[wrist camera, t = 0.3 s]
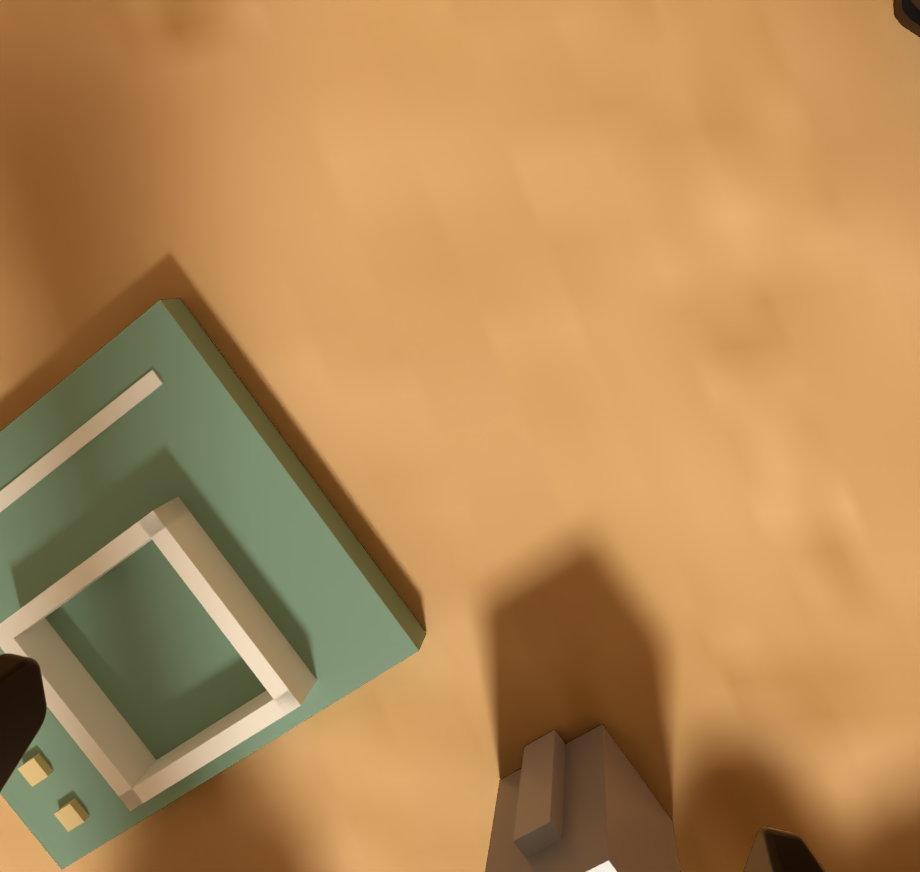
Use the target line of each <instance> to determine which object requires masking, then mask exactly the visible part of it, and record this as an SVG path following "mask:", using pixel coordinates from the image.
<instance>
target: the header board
mask: <svg viewBox="0 0 920 872" xmlns="http://www.w3.org/2000/svg"><path fill="white" fill-rule="evenodd" d="M425 635H426V632H425V631H424V629H423V628H422V627H421V625H420V624H419V623H418V621H417V620H416V618H415V617H414V616H413V614H412V613H411V612H410V610H409V609H408V608H407V606H406V605H405V603H404V602H403V601H402V599H401V598H400V597H399V595H398V594H397V593H396V591H395V590H394V589H393V587H392V586H391V584H390V583H389V582H388V580H387V579H386V578H385V576H384V575H383V574H382V572H381V571H380V570H379V568H378V567H377V565H376V564H375V563H374V561H373V560H372V559H371V557H370V556H369V555H368V553H367V552H366V550H365V549H364V548H363V546H362V545H361V544H360V542H359V541H358V540H357V538H356V537H355V536H354V534H353V533H352V531H351V530H350V529H349V527H348V526H347V525H346V523H345V522H344V521H343V519H342V518H341V516H340V515H339V514H338V512H337V511H336V510H335V508H334V507H333V506H332V504H331V503H330V502H329V500H328V499H327V497H326V496H325V495H324V493H323V492H322V491H321V489H320V488H319V487H318V485H317V484H316V483H315V481H314V480H313V478H312V477H311V476H310V474H309V473H308V472H307V470H306V469H305V468H304V466H303V465H302V463H301V462H300V461H299V459H298V458H297V457H296V455H295V454H294V453H293V451H292V450H291V449H290V447H289V446H288V444H287V443H286V442H285V440H284V439H283V438H282V436H281V435H280V434H279V432H278V431H277V430H276V428H275V427H274V425H273V424H272V423H271V421H270V420H269V419H268V417H267V416H266V415H265V413H264V412H263V410H262V409H261V408H260V406H259V405H258V404H257V402H256V401H255V400H254V398H253V397H252V396H251V394H250V393H249V391H248V390H247V389H246V387H245V386H244V385H243V383H242V382H241V381H240V379H239V378H238V377H237V375H236V374H235V372H234V371H233V370H232V368H231V367H230V366H229V364H228V363H227V362H226V360H225V359H224V357H223V356H222V355H221V353H220V352H219V351H218V349H217V348H216V347H215V345H214V344H213V343H212V341H211V340H210V338H209V337H208V336H207V334H206V333H205V332H204V330H203V329H202V328H201V326H200V325H199V324H198V322H197V321H196V319H195V318H194V317H193V315H192V314H191V313H190V311H189V310H188V309H187V307H186V306H185V304H184V303H183V302H182V300H181V299H180V298H178V299H165V300H159V301H158V302H157V303H156V304H154V305H153V306H152V307H151V308H149V309H148V310H147V311H146V312H145V313H143V314H142V315H141V316H140V317H139V318H137V319H136V320H135V321H134V322H133V323H131V324H130V325H129V326H128V327H126V328H125V329H124V330H123V331H122V332H120V333H119V334H118V335H117V336H116V337H114V338H113V339H112V340H111V341H110V342H108V343H107V344H106V345H105V346H104V347H102V348H101V349H100V350H99V351H97V352H96V353H95V354H94V355H93V356H91V357H90V358H89V359H88V360H87V361H85V362H84V363H83V364H82V365H81V366H79V367H78V368H77V369H76V370H74V371H73V372H72V373H71V374H70V375H68V376H67V377H66V378H65V379H64V380H62V381H61V382H60V383H59V384H58V385H56V386H55V387H54V388H53V389H51V390H50V391H49V392H48V393H47V394H45V395H44V396H43V397H42V398H41V399H39V400H38V401H37V402H36V403H35V404H33V405H32V406H31V407H30V408H28V409H27V410H26V411H25V412H24V413H22V414H21V415H20V416H19V417H18V418H16V419H15V420H14V421H13V422H12V423H10V424H9V425H8V426H7V427H6V428H4V429H3V430H2V431H1V432H0V655H1V654H6V653H11V654H16V655H20V656H24V657H29V658H33V659H35V660H36V661H37V662H38V664H39V665H40V669H41V675H42V680H43V686H44V692H45V698H46V703H47V711H46V716H45V720H44V722H43V724H42V726H41V728H40V730H39V731H38V733H37V735H36V736H35V738H34V739H33V741H32V743H31V744H30V746H29V747H28V749H27V751H26V752H25V754H24V755H23V757H22V759H21V760H20V762H19V763H18V765H17V767H16V768H15V770H14V771H13V773H12V775H11V776H10V778H9V779H8V781H7V783H6V784H5V786H4V787H3V789H2V791H1V792H0V794H1V795H2V796H3V797H4V799H5V800H6V801H7V802H8V804H9V805H10V806H11V807H12V809H13V810H14V811H15V812H16V814H17V815H18V816H19V817H20V819H21V820H22V821H23V822H24V824H25V825H26V826H27V827H28V828H29V830H30V831H31V832H32V833H33V835H34V836H35V837H36V838H37V840H38V841H39V842H40V843H41V845H42V846H43V847H44V848H45V850H46V851H47V852H48V853H49V854H50V856H51V857H52V858H53V859H54V861H55V862H56V863H57V864H58V866H59V867H60V868H61V869H64V868H65V867H67V866H68V865H70V864H72V863H73V862H75V861H77V860H78V859H80V858H82V857H83V856H85V855H86V854H88V853H90V852H91V851H93V850H95V849H96V848H98V847H99V846H101V845H103V844H104V843H106V842H108V841H109V840H111V839H112V838H114V837H116V836H117V835H119V834H121V833H122V832H124V831H126V830H127V829H129V828H130V827H132V826H134V825H135V824H137V823H139V822H140V821H142V820H143V819H145V818H147V817H148V816H150V815H152V814H153V813H155V812H157V811H158V810H160V809H161V808H163V807H165V806H166V805H168V804H170V803H171V802H173V801H174V800H176V799H178V798H179V797H181V796H183V795H184V794H186V793H188V792H189V791H191V790H192V789H194V788H196V787H197V786H199V785H201V784H202V783H204V782H205V781H207V780H209V779H210V778H212V777H214V776H215V775H217V774H219V773H220V772H222V771H223V770H225V769H227V768H228V767H230V766H232V765H233V764H235V763H236V762H238V761H240V760H241V759H243V758H245V757H246V756H248V755H250V754H251V753H253V752H254V751H256V750H258V749H259V748H261V747H263V746H264V745H266V744H267V743H269V742H271V741H272V740H274V739H276V738H277V737H279V736H281V735H282V734H284V733H285V732H287V731H289V730H290V729H292V728H294V727H295V726H297V725H298V724H300V723H302V722H303V721H305V720H307V719H308V718H310V717H312V716H313V715H315V714H316V713H318V712H320V711H321V710H323V709H325V708H326V707H328V706H329V705H331V704H333V703H334V702H336V701H338V700H339V699H341V698H343V697H344V696H346V695H347V694H349V693H351V692H352V691H354V690H356V689H357V688H359V687H360V686H362V685H364V684H365V683H367V682H369V681H370V680H372V679H374V678H375V677H377V676H378V675H380V674H382V673H383V672H385V671H387V670H388V669H390V668H391V667H393V666H395V665H396V664H398V663H400V662H401V661H403V660H405V659H406V658H408V657H409V656H411V655H413V654H414V653H416V652H418V651H419V649H420V647H421V645H422V642H423V640H424V638H425Z"/></svg>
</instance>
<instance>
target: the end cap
mask: <svg viewBox="0 0 920 872" xmlns="http://www.w3.org/2000/svg"><path fill="white" fill-rule="evenodd" d="M894 14H895V17H896V19H897V20H898V21H899V22H900V24H901V25H902V26H903V27H905V28H906V29H908V30H910V31H911V32H913V33H914V34H916V35H917V36H919V37H920V0H895V2H894Z"/></svg>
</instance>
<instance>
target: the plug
mask: <svg viewBox="0 0 920 872" xmlns="http://www.w3.org/2000/svg"><path fill="white" fill-rule="evenodd" d="M485 872H681V870H680V863H679V857H678V851H677V845H676V839H675V833H674V827H673V821H672V820H671V818H670V817H669V816H668V814H667V813H666V811H665V810H664V809H663V807H662V806H661V804H660V803H659V802H658V800H657V799H656V798H655V796H654V795H653V793H652V792H651V791H650V789H649V788H648V787H647V785H646V784H645V782H644V781H643V780H642V778H641V777H640V775H639V774H638V773H637V771H636V770H635V769H634V767H633V766H632V764H631V763H630V762H629V760H628V759H627V757H626V756H625V755H624V753H623V752H622V751H621V749H620V748H619V746H618V745H617V744H616V742H615V741H614V740H613V738H612V737H611V735H610V734H609V733H608V731H607V730H606V728H605V727H604V726H603V724H602V725H600V726H598V727H596V728H594V729H592V730H591V731H589V732H587V733H585V734H583V735H581V736H580V737H578V738H576V739H574V740H572V741H570V742H569V743H567V744H565V743H564V741H563V740H562V739H561V737H560V736H559V735H558V733H557V732H556V730H553V731H552V732H550V733H548V734H546V735H544V736H543V737H541V738H539V739H537V740H535V741H533V742H532V743H530V744H528V745H526V746H524V753H523V761H522V768H521V769H519V770H517V771H516V772H514V773H512V774H510V775H508V776H506V777H505V778H503V779H501V780H500V782H499V788H498V794H497V801H496V807H495V813H494V819H493V826H492V832H491V838H490V845H489V851H488V857H487V864H486V870H485Z"/></svg>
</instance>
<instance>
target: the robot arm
mask: <svg viewBox="0 0 920 872" xmlns="http://www.w3.org/2000/svg"><path fill="white" fill-rule="evenodd" d="M46 711H47V703H46V698H45V692H44V686H43V680H42V675H41V669H40V665H39V664H38V662H37V661H36V660H35V659H33V658H29V657H24V656H20V655H16V654H11V653H6V654H1V655H0V792H1V791H2V789H3V787H4V786H5V784H6V783H7V781H8V779H9V778H10V776H11V775H12V773H13V771H14V770H15V768H16V767H17V765H18V763H19V762H20V760H21V759H22V757H23V755H24V754H25V752H26V751H27V749H28V747H29V746H30V744H31V743H32V741H33V739H34V738H35V736H36V735H37V733H38V731H39V730H40V728H41V726H42V724H43V722H44V720H45V716H46ZM744 872H825V870H824V869H823V867H822V866H821V864H820V863H819V861H818V860H817V858H816V857H815V855H814V854H813V853H812V851H811V850H810V848H809V847H808V845H807V844H806V842H805V841H804V840H803V838H801V837H800V836H799V835H798V834H796V833H793V832H789V831H785V830H781V829H776V828H772V827H768V826H767V827H762V828H761V829H760V830H759V831H758V833H757V835H756V838H755V840H754V843H753V846H752V849H751V852H750V855H749V857H748V860H747V863H746V866H745V869H744Z"/></svg>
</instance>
